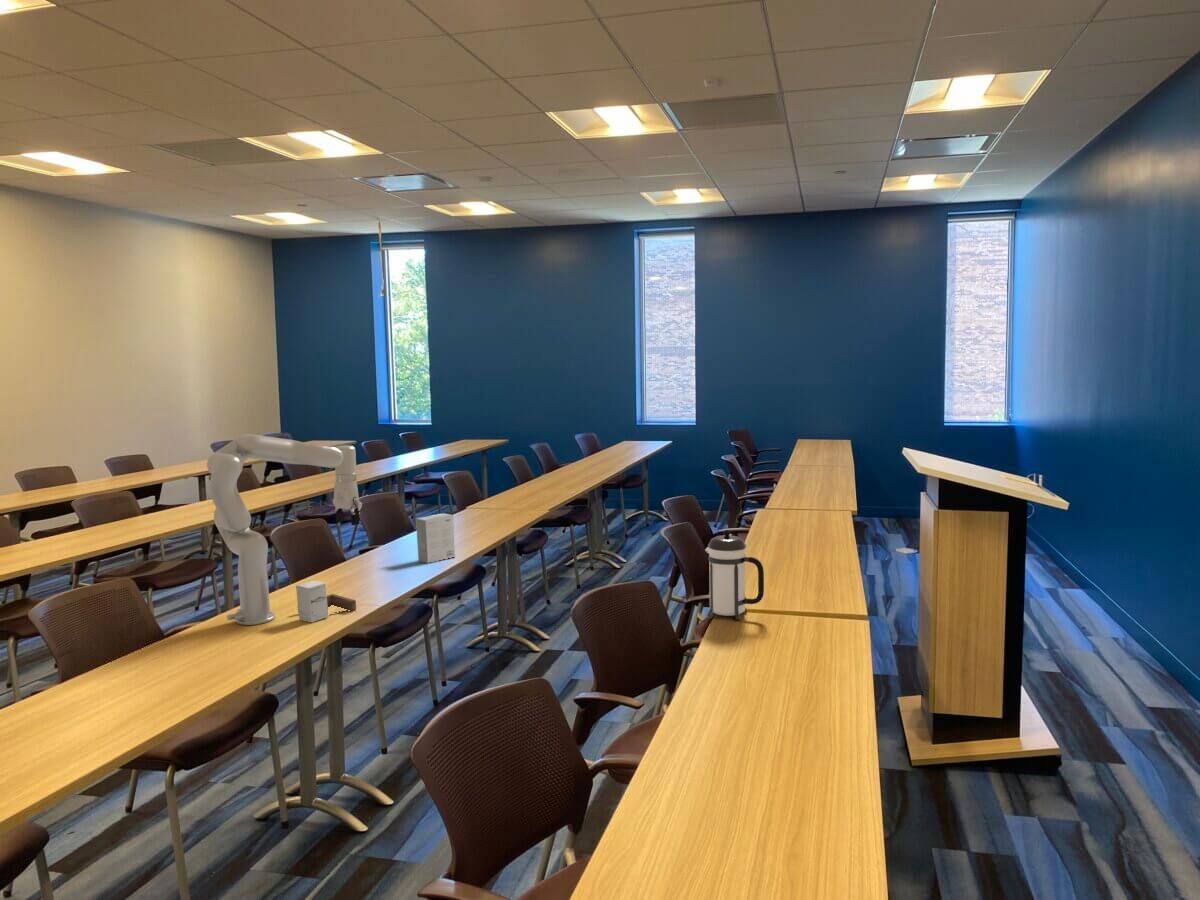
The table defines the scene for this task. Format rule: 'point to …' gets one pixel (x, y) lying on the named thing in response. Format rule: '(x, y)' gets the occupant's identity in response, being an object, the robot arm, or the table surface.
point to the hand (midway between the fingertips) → (347, 523)
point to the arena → (341, 602)
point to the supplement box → (312, 601)
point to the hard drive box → (435, 537)
